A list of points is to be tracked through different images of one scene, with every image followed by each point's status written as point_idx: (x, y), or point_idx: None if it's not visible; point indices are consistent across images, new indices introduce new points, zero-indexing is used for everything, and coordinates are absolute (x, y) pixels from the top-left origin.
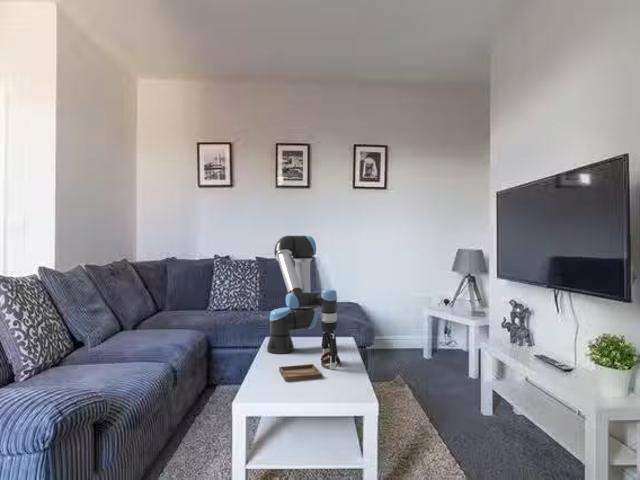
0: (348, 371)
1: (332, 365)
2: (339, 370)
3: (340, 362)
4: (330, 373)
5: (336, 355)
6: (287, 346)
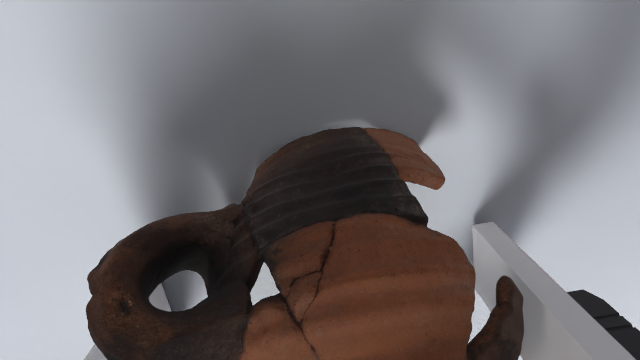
0: (631, 61)
1: None
2: (544, 179)
3: (410, 163)
4: (617, 293)
5: (445, 301)
6: None
